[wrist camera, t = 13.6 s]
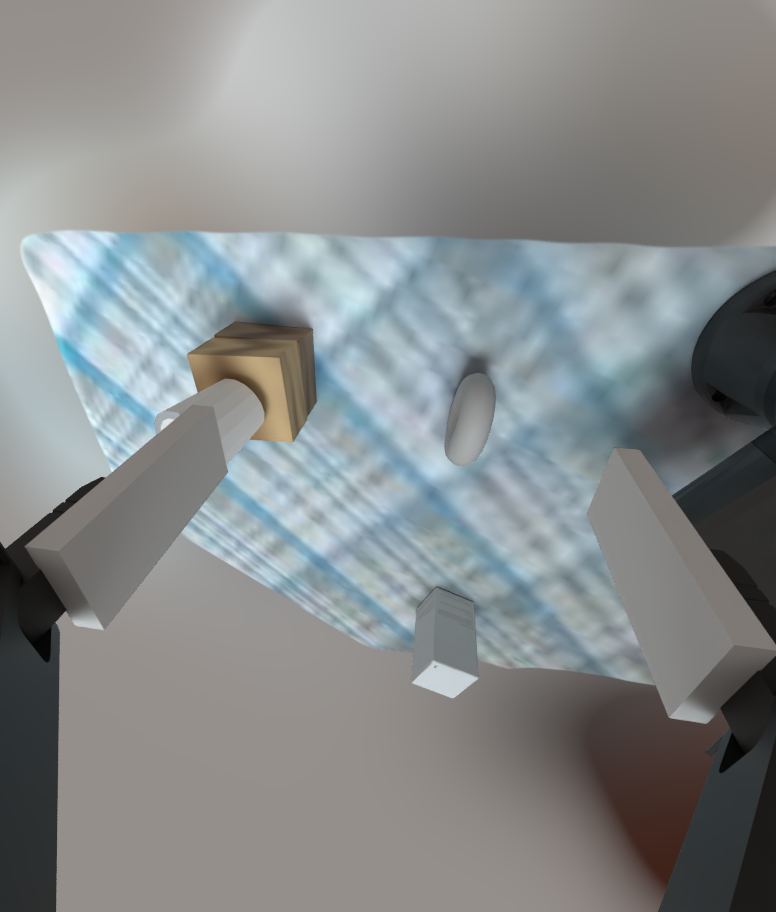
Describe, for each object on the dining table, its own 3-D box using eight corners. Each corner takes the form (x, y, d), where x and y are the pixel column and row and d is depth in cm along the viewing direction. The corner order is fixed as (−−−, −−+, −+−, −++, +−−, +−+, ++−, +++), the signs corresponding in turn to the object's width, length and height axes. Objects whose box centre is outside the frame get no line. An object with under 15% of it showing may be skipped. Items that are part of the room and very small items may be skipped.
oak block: (296, 340, 41) (279, 357, 37) (307, 419, 46) (292, 442, 42) (212, 337, 42) (186, 354, 38) (231, 415, 47) (210, 437, 43)
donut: (468, 438, 50) (472, 488, 42) (441, 432, 50) (439, 480, 42) (496, 362, 45) (505, 403, 37) (465, 355, 45) (468, 394, 37)
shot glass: (248, 368, 36) (191, 408, 31) (281, 433, 40) (235, 478, 35) (197, 376, 39) (138, 414, 35) (232, 435, 43) (183, 477, 38)
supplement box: (415, 608, 70) (408, 683, 60) (436, 585, 66) (433, 660, 56) (452, 624, 71) (452, 700, 61) (476, 602, 67) (480, 679, 57)
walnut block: (313, 328, 46) (299, 342, 41) (316, 401, 51) (304, 420, 46) (235, 321, 46) (214, 334, 42) (246, 394, 51) (228, 412, 47)
